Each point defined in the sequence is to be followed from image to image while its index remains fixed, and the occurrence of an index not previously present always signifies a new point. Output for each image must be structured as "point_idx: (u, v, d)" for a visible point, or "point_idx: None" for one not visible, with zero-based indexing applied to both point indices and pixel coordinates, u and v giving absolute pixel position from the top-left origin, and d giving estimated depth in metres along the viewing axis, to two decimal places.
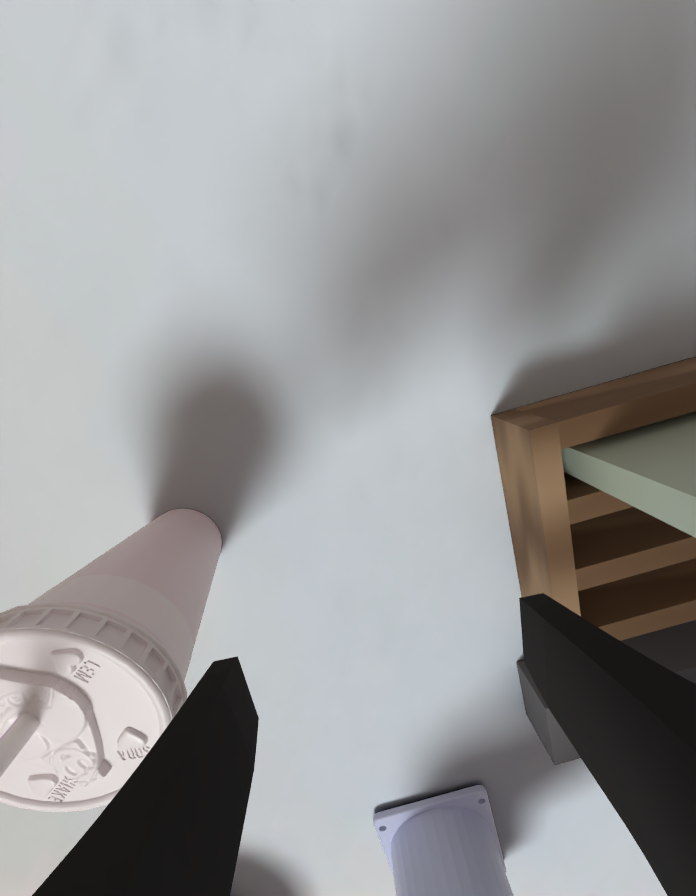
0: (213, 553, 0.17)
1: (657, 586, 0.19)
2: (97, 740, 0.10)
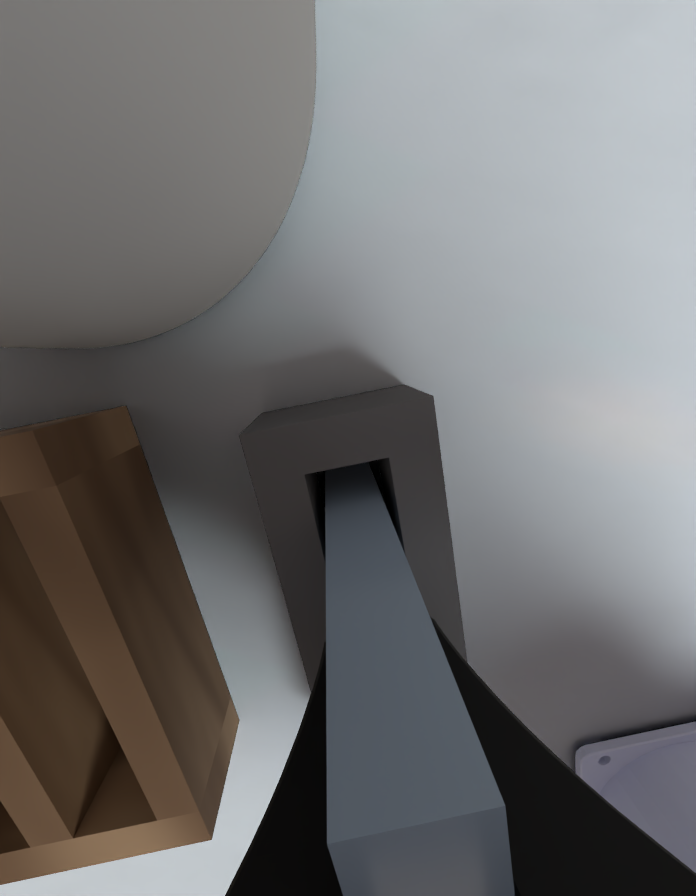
0: None
1: None
2: None
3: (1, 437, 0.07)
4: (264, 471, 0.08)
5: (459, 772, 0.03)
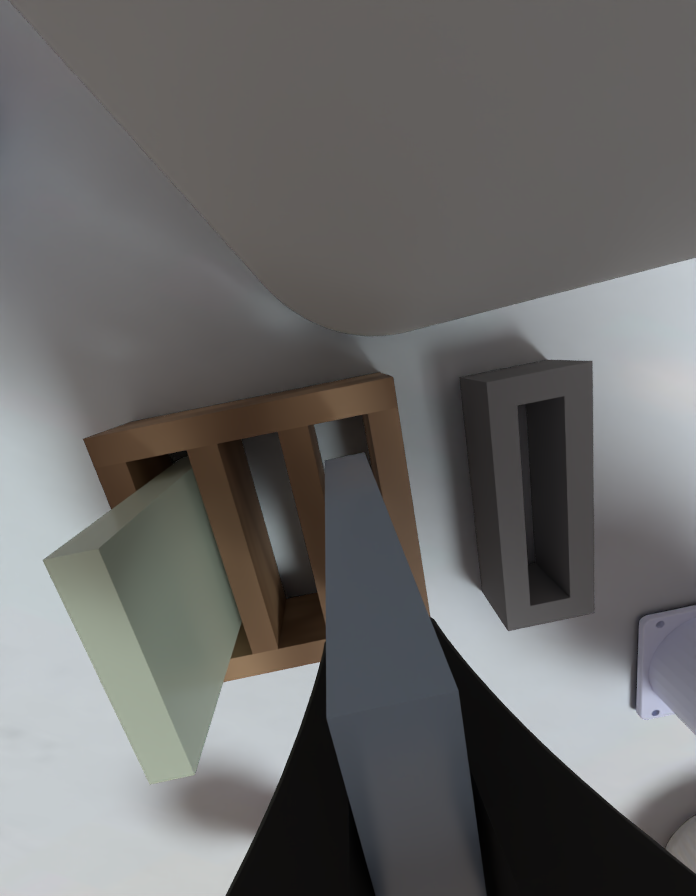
0: None
1: None
2: None
3: (377, 380, 0.14)
4: (496, 403, 0.15)
5: (426, 672, 0.04)
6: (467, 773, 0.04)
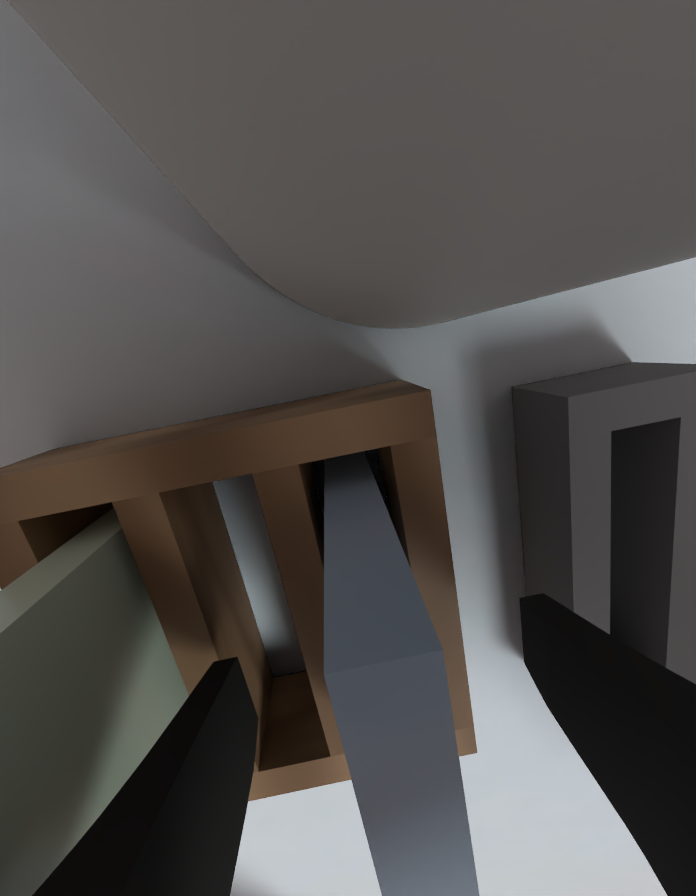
0: None
1: None
2: None
3: (406, 395, 0.09)
4: (581, 428, 0.10)
5: (415, 636, 0.04)
6: (453, 731, 0.05)
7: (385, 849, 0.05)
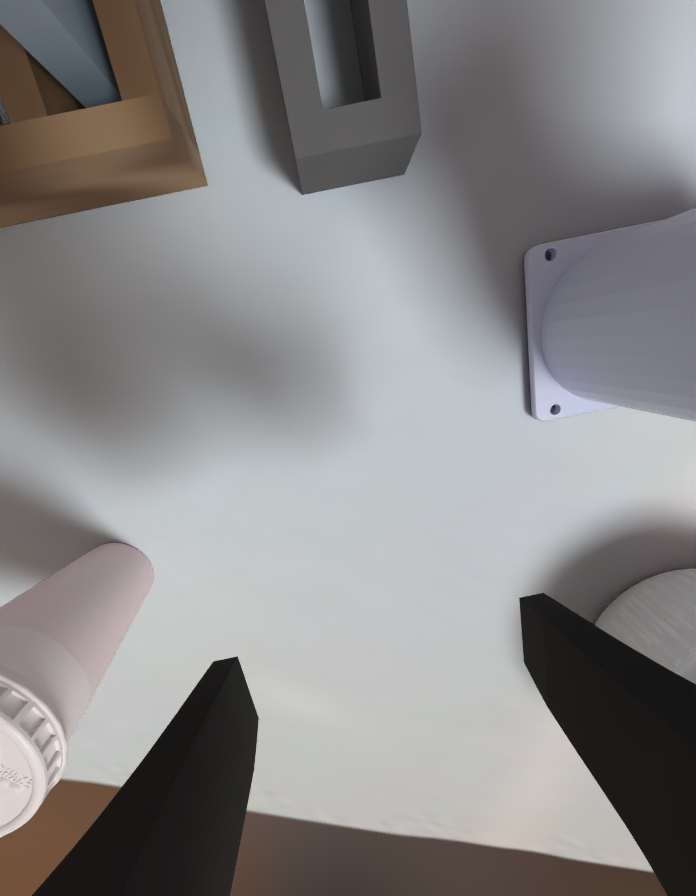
0: (83, 560, 0.17)
1: None
2: None
3: None
4: None
5: None
6: None
7: None
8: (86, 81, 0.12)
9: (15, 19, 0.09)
